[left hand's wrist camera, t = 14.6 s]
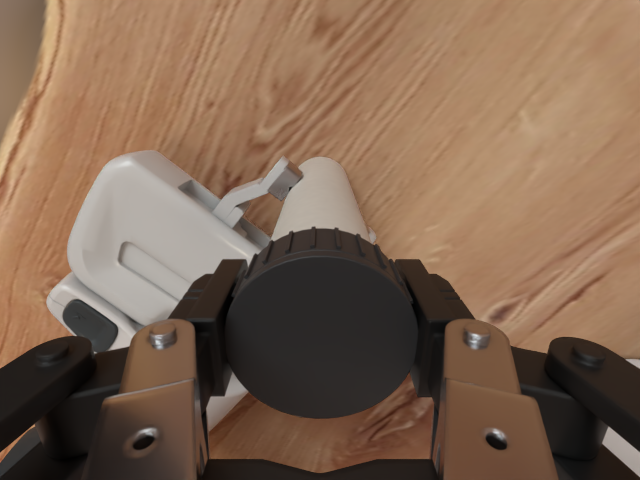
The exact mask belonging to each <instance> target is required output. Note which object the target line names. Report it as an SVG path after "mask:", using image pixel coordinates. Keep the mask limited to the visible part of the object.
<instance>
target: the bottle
mask: <svg viewBox="0 0 640 480" xmlns="http://www.w3.org/2000/svg"><path fill="white" fill-rule="evenodd" d="M298 168H299V169H300V170H301V171H302V172H303V173H302V176H301V178H300V179H299V180H298V182H297V183H296V184H295V185H294V186H292V187H291V188H290V191H289V193H288V194H287V196H286V199H285V202H284V205H283V207H282V210H281V213H280V216H279V218H278V221H277V224H276V227H275V229H274V232H273V235H272V238H271V240H273V241H275V240H277V239H279V238H281V237H283V236H285V235H288V234H289V231H293V232H297V231H301V230H306V229H311V228H312V227H314V226H315V227H316V228H328V229H334V228H335V227H337V228H339V230H341V231H345V232H349V233H352V234H354V235H356V234H357V233H358V234H360V236H361V238H363V239H365V240H367V241H369V242H370V243H371V244H372V242H371V239H370V237H369V234H368V231H367V228H366V226H365V223H364V220H363V218H362V215H361V212H360V210H359V207H358V204H357V201H356V199H355V196H354V193H353V191H352V188H351V185H350V183H349V180H348V177H347V174H346V172H345V170H344V169H343V167H342V166H341V165H340V164H339V163H337V162H336V161H334V160H333V159H330V158H327V157H314V158H311V159H308V160H307V161H305V162H304V163H302V164H301V165H300V166H299V167H298ZM271 240H270V241H271Z"/></svg>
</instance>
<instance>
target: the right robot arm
mask: <svg viewBox="0 0 640 480" xmlns="http://www.w3.org/2000/svg"><path fill="white" fill-rule="evenodd" d="M302 173H303V172H302V171H301V170H300V169H299V168H297V167H296V166H295V165H294V164H293V163H292V162H290V161H289V160H288V159H287V158H286V157H284V156H282V157H281V158H280V160H279V161H278V162H277V163H276V165H275V166H274V167H273V168H272V170H271V171H270V172H269V174H268V175H267V176H266V177H265V178H263V177H262V178H260V179H257V180H254V181H251V182H249V183H246V184H243V185H241V186H238V187H235V188H233V189H232V190H231V191H230V192H229V193H227V194H226V195H225V196H224V197H223V199H222V200H221V199H220V198H219V197H217V196H216V195H215V194H213V193H212V192H211V191H209V190H208V189H207V188H205V187H204V186H203V185H201V184H200V183H199V182H198V181H196V180H195V179H194V178H192V177H191V176H190V175H188V174H187V173H186V172H184V171H183V170H182V169H180V168H179V167H178V166H176V165H175V164H174V163H172V162H171V161H170V160H169V159H167V158H166V157H165V156H163V155H162V154H161V153H159V152H157V151H155V150H146V151H137V152H131V153H127V154H124V155H121V156H118V157H116V158H114V159H112V160H111V161H109V162H108V163H107V164H106V165H105V166H104V167H103V169H102V170H101V172H100V173H99V175H98V176H97V178H96V180H95V182H94V183H93V185H92V187H91V189H90V191H89V193H88V194H87V197H86V199H85V201H84V203H83V205H82V207H81V209H80V211H79V214H78V216H77V218H76V221H75V223H74V226H73V228H72V231H71V234H70V237H69V240H68V246H67V257H68V262H69V265H70V268H71V269H72V272H70V273H69V274H68V275H67V276H66V277H64V278H63V279H62V280H61V281H60V282H59V283H58V284H57V285H56V286H55V287H54V288H53V289H52V291H51V292H50V293H49V295H48V297H47V307H48V309H49V310H50V312H51V313H52V314H53V315H54V317H55V318H56V319H57V320H58V321H59V322H60V323H61V324H63V325H64V326H65V327H66V328H67V329H68V330H69V331H70V332H71V333H72V334H73V335H74V336H82V337H85V338H87V339H89V340H90V341H91V343H92V346H93V350H94V353H99V352H104V351H109V350H114V349H119V348H124V347H128V346H130V342H131V339H132V337H133V336H134V335H135V334H136V333H137V332H138V331H139V330H140V329H142V328H143V327H145V326H147V325H149V324H152V323H154V322H157V321H161V320H166V319H167V318H168V317H169V316H170V314H171V313H172V311H173V310H174V309H175V307H176V306H177V304H178V303H179V302H180V300H181V299H182V297H183V296H184V294H185V293H186V292H188V289H189V287H190V286H191V285H192V283H193V282H194V281H195V280H197V279H198V278H200V277H201V276H203V275H204V274H213V273H214V272H215V270H216V269H217V267H218V265H219V264H220V262H221V261H222V259H246V260H247V264H248V266H249V264H250V262H251V260H252V257H253V255H254V254H255V253H256V254H259V253H260V252H261V251H262V250H263V249H264V248H265V247H267V246H268V244H269V241H270V240H271V237H270V236H269V235H267V234H266V233H265V232H264V231H262V230H261V229H260V228H258V227H257V226H256V225H254V224H253V223H252V222H250V221H249V220H248V219H246V218H245V217H244V216H242V215H243V214H244V213H245V211H246V210H247V209H248V207H249V206H250V205H251V203H250V201H249V200H252V199H254V198H257V197H259V196H262V195H265V194H267V193H269V192H270V193H271V194H272V195H274V196H275V197H276V198H278V199H279V200H280V201H282V200H283V199H284V198H285V196H286V195H287V194H288V193H289V191H290V188H291V187H292V186H294V185H295V184H296V183H297V182H298V180H299V179H300V178H301V176H302ZM365 226H366V228H367V231H368V234H369V237H370V239H371V242H372V244H373V243H374V241H375V239H376V234H375V232H374V230H372V229H371V228H370V227H369V226H368V225H366V224H365ZM625 360H627V361H628V362H630V363H632V364H633V365H635V366H636V367H638V368H639V369H640V359H625ZM248 392H249V391H247V390H246V389H245V388H244V387H243V385H242V384H241V383H240V382H239V381H238V379H237V378H236V376H235V375H234V373H233V372H232V375H231V378H230V382H229V385H228V388H227V391H226V394H225V397H210V400H209V403H208V405H207V408H206V409H207V416H208V428H209V431H211V430H212V429H213V428H214V427H215V426H216V425H217V424H218V423H219V422H220V421H221V420H222V419H223V418H224V417H225V416H226V415H227V414H228V413H229V411H230V410H231V409H232V408H233V407H234V406H235V405H236V404H237V403H238V402H239V401H240V400H241V399H242V398H243V397H244V396H245V395H246V394H247V393H248ZM297 417H300V416H297ZM300 418H302V417H300ZM40 441H41V439H40V437H39V434H38V431H37V429H36V426H35V427H33V428H32V429H30V430H29V431H27V432H26V433H25V434H24V435H23V437H22V438H21V439H20V440H19V441H18V442H17V443H16V444H15V446H14V447H13V448H12V449H11V450H10V451H9V453H8V454H7V455H6V456H5V458H4V459H3V460H2V461H1V463H0V477H1V476H2V475H3V474H4V473H5V472H7V471H8V470H9V469H10V468H11V467H12V466H13V465H14V464H16V463H17V462H18V461H19V460H20V459H21V458H22V457H23V456H24V455H26V454H27V453H28V452H29V451H30V450H31V449H32V448H33V447H35V446H36V445H37V444H38V443H39V442H40ZM602 444H603V445H604V446H605V447H607V448H608V449H609V450H610V451H611V452H612V453H613V454H614V455H616V456H617V457H618V458H619V459H620V460H621V461H622V462H623V463H624V464H626V465H627V466H628V467H629V468H630V469H631V470H632V471H633V472H635V473H636V474H637V475H638V476H639V477H640V452H639V451H638V450H636V449H635V448H634V447H633V446H632V445H630V444H629V443H628V442H627V441H626V440H624V439H623V438H622V437H621V436H620V435H618V434H617V433H616V432H615V431H614V430H612V429H611V428H610V427H609V426H608V429H607V432H606V434H605V437H604V439H603V442H602Z"/></svg>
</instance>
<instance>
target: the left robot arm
mask: <svg viewBox="0 0 640 480" xmlns="http://www.w3.org/2000/svg"><path fill="white" fill-rule="evenodd" d="M394 264H395V266H396V268H397V270H398V273H399V275H400V276H402V278H403V281H404V283H405V285H406V287H407V289H408V291H409V293H410V295H411V297H412V300H413V302H414V303H413V304H411V305H412V307H413V310H414V313H415V315H416V319H417V323H418V339H417V347H416V355H415V361H414V363H413V365H412V368H411V370H410V375H411V378H412V381H413V384H414V387H415V390H416V393H417V396H418V397H432V399H433V401H434V409H433V415H432V428H431V442H430V457H429V459H376V460H372V461H369V462H365V463H361V464H357V465H353V466H349V467H345V468H342V469H338V470H334V471H330V472H326V473H314V472H310V471H306V470H302V469H298V468H295V467H291V466H287V465H283V464H279V463H275V462H271V461H268V460H264V459H211V457H210V442H209V428H208V416H207V409H206V408H207V405H208V403H209V400H210V397H225V394H226V391H227V388H228V385H229V382H230V378H231V375H232V372H233V371H232V369H231V367H230V365H229V363H228V360H227V353H226V345H225V335H224V325H225V320H226V316H227V314H228V311H229V308H230V306H231V304H232V301H233V299H234V297H232V296H231V295H232V293H233V291H234V289H235V287H236V285H237V283H238V280H239V278H240V276H241V274H242V272H243V270H247V269H248V264H247V260H246V259H222V261H221V262H220V264H219V265H218V267H217V269H216V270H215V272H214V273H213V274H204V275H203V276H201V277H200V278H198V279H197V280H195V281H194V282H193V283H192V285H191V286H190V287H189V289H188V292H186V293H185V294H184V296H183V297H182V299H181V300H180V302H179V303H178V304H177V306H176V307H175V309H174V310H173V311H172V313H171V314H170V316H169V317H168V318H167V319H166V320H161V321H157V322H154V323H152V324H149V325H147V326H145V327H143V328H142V329H140V330H139V331H138V332H137V333H136V334H135V335H134V336H133V337H132V339H131V342H130V346H128V347H124V348H119V349H114V350H109V351H104V352H99V353H94V350H93V346H92V343H91V341H90V340H89V339H87V338H85V337H82V336H67V337H61V338H57V339H53V340H50V341H47V342H45V343H42V344H40V345H38V346H36V347H34V348H32V349H31V350H29V351H27V352H26V353H24V354H23V355H21V356H20V357H18V358H16V359H15V360H13V361H12V362H10V363H8V364H7V365H5V366H4V367H2V368H1V369H0V452H1V451H2V450H4V449H5V448H6V447H7V446H8V445H10V444H11V443H12V442H13V441H14V440H16V439H17V438H18V437H19V436H20V435H22V434H23V433H24V432H25V431H26V430H28V429H29V428H30V427H31V426H32V425H34V424H35V426H36V429H37V431H38V434H39V437H40V439H41V441H40V442H39V443H38V444H37V445H36V446H35V447H33V448H32V449H31V450H30V451H29V452H28V453H27V454H26V455H24V456H23V457H22V458H21V459H20V460H19V461H18V462H17V463H16V464H14V465H13V466H12V467H11V468H10V469H9V470H8V471H7V472H5V473H4V474H3V475H2V476H1V477H0V480H640V477H639V476H638V475H637V474H636V473H635V472H633V471H632V470H631V469H630V468H629V467H628V466H627V465H626V464H624V463H623V462H622V461H621V460H620V459H619V458H618V457H617V456H616V455H614V454H613V453H612V452H611V451H610V450H609V449H608V448H607V447H605V446H604V445H603V444H602V442H603V439H604V437H605V434H606V432H607V429H608V426H609V427H610V428H611V429H612V430H614V431H615V432H616V433H617V434H618V435H620V436H621V437H622V438H623V439H624V440H626V441H627V442H628V443H629V444H630V445H632V446H633V447H634V448H635V449H636V450H638V451H639V452H640V369H639V368H638V367H636V366H635V365H633V364H632V363H630V362H628V361H627V360H625V359H624V358H622V357H620V356H619V355H617V354H616V353H614V352H613V351H611V350H609V349H607V348H605V347H603V346H601V345H599V344H597V343H594V342H591V341H588V340H584V339H580V338H574V337H560V338H556V339H554V340H552V341H551V343H550V345H549V349H548V353H547V354H546V353H541V352H536V351H531V350H526V349H521V348H517V347H513V346H510V342H509V339H508V337H507V336H506V335H505V334H504V333H503V332H502V331H501V330H500V329H498V328H497V327H495V326H493V325H491V324H488V323H486V322H483V321H479V320H476V319H475V318H474V317H473V315H472V314H471V312H470V311H469V310H468V308H467V307H466V305H465V304H464V303H463V301H462V300H460V297H459V296H458V294H457V293H456V292H455V290H454V289H453V287H452V286H451V285H450V283H449V282H448V281H447V280H445V279H443V278H442V277H440V276H439V275H437V274H429V273H428V272H427V270H426V269H425V267H424V266H423V264H422V262H421V261H420V260H419V259H396V260H395V263H394Z"/></svg>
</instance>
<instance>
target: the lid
mask: <svg viewBox="0 0 640 480" xmlns="http://www.w3.org/2000/svg"><path fill="white" fill-rule="evenodd" d="M231 296H232V297H234V299H233V301H232V304H231V306H230V308H229V311H228V314H227V316H226V320H225V325H224V335H225V345H226V353H227V360H228V363H229V365H230V367H231V369H232V371H233V373H234V375H235V376H236V378H237V379H238V381H239V382H240V383H241V384H242V385H243V387H244V388H245V389H246V390H247V391H249V392H250V393H251V394H252V395H253V396H254V397H256V398H257V399H258V400H260V401H261V402H263V403H265V404H266V405H268V406H270V407H272V408H274V409H276V410H279V411H281V412H284V413H287V414H291V415H294V416H300V417H305V418H316V419H321V418H337V417H343V416H347V415H352V414H355V413H358V412H361V411H363V410H366V409H368V408H370V407H372V406H374V405H376V404H378V403H379V402H381V401H382V400H384V399H385V398H386V397H388V396H389V395H390V394H392V393H393V392H394V391H395V390H396V389H397V388H398V387H399V386H400V384H401V383H402V382H403V381H404V380H405V378H406V376H407V375H408V373H409V372H410V370H411V368H412V365H413V363H414V361H415V355H416V347H417V339H418V323H417V319H416V315H415V313H414V310H413V307H412V305H411V304H413V303H414V302H413V300H412V297H411V295H410V293H409V291H408V289H407V287H406V285H405V283H404V281H403V278H402V276H400V275H399V273H398V270H397V268H396V266H395V264H394V262H393V260H392V259H390V260H388V258H387V257H386V256H385V255H384V254H383V253H382V252H381V250H380V248H379V246H378V245H377V244H375V246H374V245H373V244H371V243H370V242H369V241H367V240H365V239H363V238H361V236H360V234H358V233H357V234H356V235H354V234H352V233H349V232H345V231H341V230H339V228H337V227H335V228H334V229H328V228H316V227H315V226H314V227H312V228H311V229H306V230H301V231H297V232H293V231H289V234H288V235H285V236H283V237H281V238H279V239H277V240H275V241H273V240H271V241H269V244H268V246H267V247H265V248H264V249H263V250H262V251H261V252H260V253H259V254H256V253H255V254H254V255H253V257H252V260H251V262H250V264H249V266H248V269H247V270H243V272H242V274H241V276H240V278H239V280H238V283H237V285H236V287H235V289H234V291H233V293H232V295H231Z"/></svg>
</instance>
